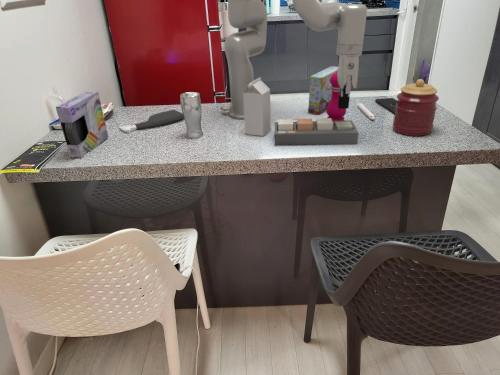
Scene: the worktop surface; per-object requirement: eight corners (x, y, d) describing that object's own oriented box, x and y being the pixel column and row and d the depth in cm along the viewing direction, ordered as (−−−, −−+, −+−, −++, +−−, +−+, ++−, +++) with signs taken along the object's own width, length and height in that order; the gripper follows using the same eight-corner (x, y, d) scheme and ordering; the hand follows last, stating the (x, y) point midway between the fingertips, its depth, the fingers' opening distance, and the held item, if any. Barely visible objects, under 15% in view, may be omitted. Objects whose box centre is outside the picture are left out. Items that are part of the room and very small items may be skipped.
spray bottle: (186, 121, 151) (128, 137, 139) (174, 115, 159) (118, 130, 147) (185, 114, 150) (126, 130, 137) (173, 108, 157) (116, 123, 145)
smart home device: (395, 112, 144) (374, 98, 161) (395, 117, 144) (374, 102, 162) (416, 111, 144) (392, 97, 162) (415, 115, 145) (392, 101, 162)
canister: (385, 131, 130) (392, 80, 122) (401, 121, 138) (409, 73, 130) (423, 139, 122) (433, 85, 114) (437, 128, 131) (448, 77, 122)
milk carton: (270, 130, 137) (269, 77, 128) (263, 136, 131) (261, 82, 122) (253, 127, 140) (251, 76, 130) (245, 134, 134) (242, 81, 125)
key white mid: (317, 134, 124) (317, 123, 123) (315, 129, 129) (316, 118, 127) (332, 133, 124) (333, 123, 122) (330, 128, 128) (331, 118, 127)
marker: (376, 121, 140) (377, 115, 139) (370, 122, 140) (371, 116, 139) (361, 107, 156) (362, 102, 155) (356, 107, 156) (357, 102, 155)
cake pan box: (81, 160, 121) (65, 106, 112) (67, 159, 122) (50, 106, 113) (110, 138, 137) (99, 90, 129) (98, 137, 138) (85, 90, 129)
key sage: (336, 137, 125) (337, 127, 123) (334, 132, 129) (335, 122, 127) (351, 137, 124) (352, 126, 122) (349, 132, 129) (350, 121, 127)
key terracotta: (297, 134, 125) (297, 123, 123) (296, 129, 129) (297, 118, 127) (312, 134, 125) (313, 123, 123) (311, 129, 129) (311, 118, 127)
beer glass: (196, 130, 140) (191, 90, 132) (208, 134, 135) (204, 93, 128) (181, 136, 136) (175, 95, 128) (192, 140, 131) (187, 98, 124)
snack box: (320, 115, 149) (322, 77, 141) (307, 113, 152) (308, 76, 144) (340, 101, 164) (342, 66, 157) (328, 100, 167) (330, 65, 159)
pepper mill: (345, 125, 137) (350, 70, 128) (325, 125, 139) (328, 70, 129) (345, 119, 143) (349, 65, 134) (326, 118, 145) (329, 65, 135)
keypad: (274, 145, 124) (274, 133, 122) (274, 132, 134) (274, 121, 132) (357, 144, 122) (358, 132, 120) (350, 131, 132) (351, 119, 130)
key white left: (278, 135, 125) (278, 124, 124) (278, 129, 130) (278, 119, 128) (293, 134, 125) (293, 123, 123) (292, 129, 129) (292, 119, 128)
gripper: (367, 54, 107) (358, 115, 116) (357, 44, 119) (350, 100, 129) (340, 54, 107) (334, 115, 116) (333, 45, 120) (328, 100, 129)
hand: (343, 107), depth 123 cm, fingers closed
